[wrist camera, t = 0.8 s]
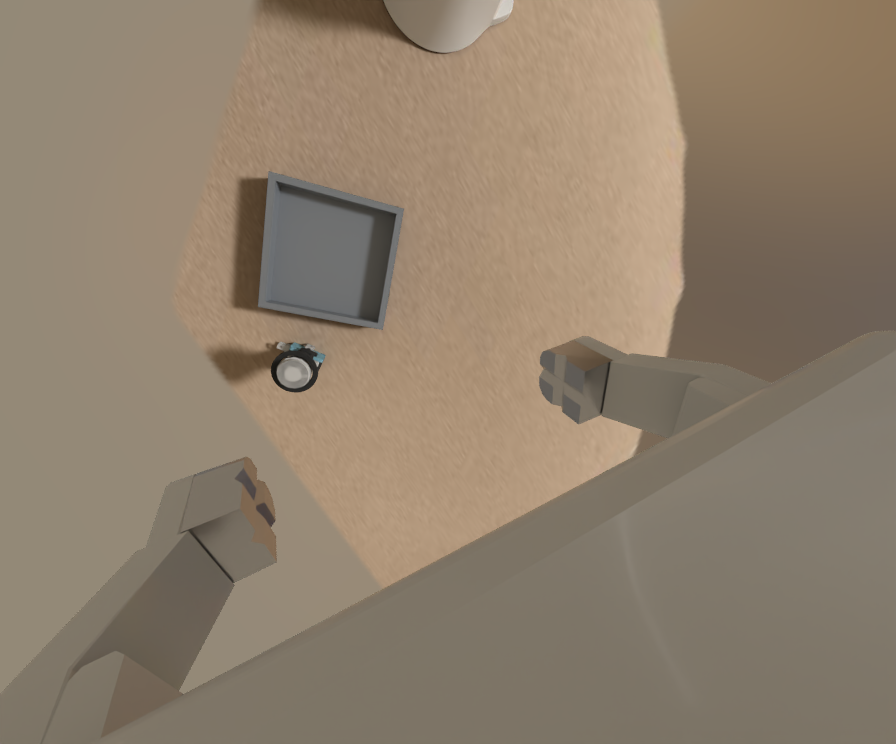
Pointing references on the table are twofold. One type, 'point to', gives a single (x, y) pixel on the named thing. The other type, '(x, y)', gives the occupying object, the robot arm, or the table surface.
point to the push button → (296, 367)
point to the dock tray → (327, 252)
